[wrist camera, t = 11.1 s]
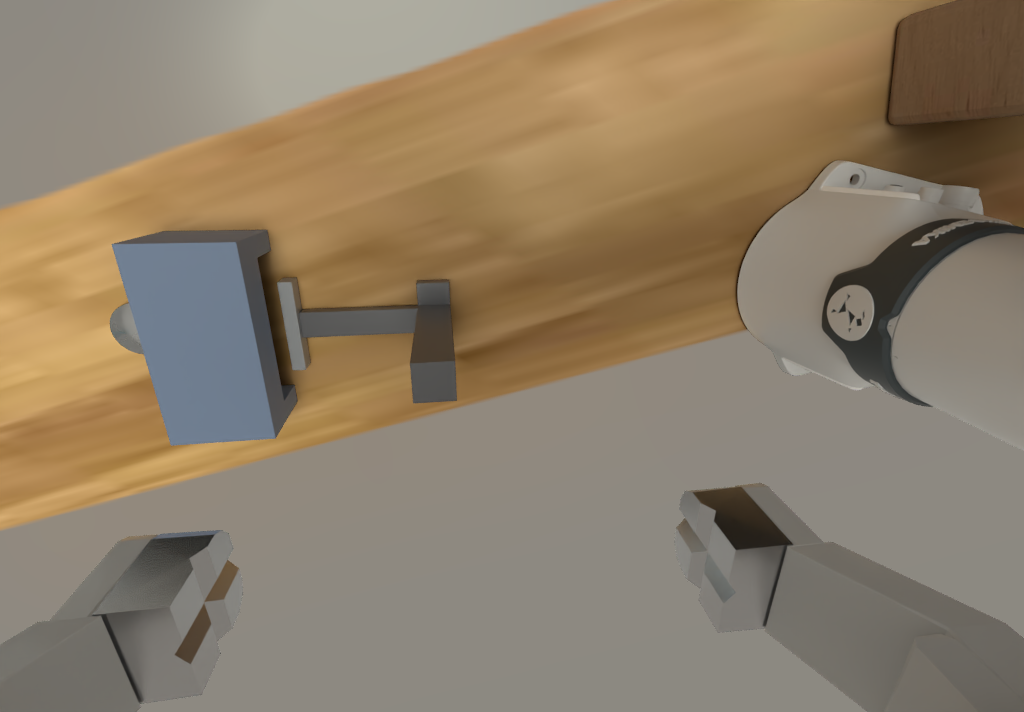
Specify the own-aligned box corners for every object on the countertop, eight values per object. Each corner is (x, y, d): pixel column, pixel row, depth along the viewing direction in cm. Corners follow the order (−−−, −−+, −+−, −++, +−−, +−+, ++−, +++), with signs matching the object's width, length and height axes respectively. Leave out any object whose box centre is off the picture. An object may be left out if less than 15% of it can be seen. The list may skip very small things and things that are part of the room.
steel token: (169, 298, 37) (162, 302, 36) (182, 348, 38) (176, 352, 37) (111, 300, 36) (102, 304, 35) (126, 350, 38) (119, 355, 37)
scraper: (448, 273, 39) (453, 323, 27) (452, 355, 41) (458, 434, 29) (282, 278, 37) (209, 333, 25) (297, 363, 40) (237, 449, 28)
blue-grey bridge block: (267, 229, 36) (236, 242, 30) (297, 401, 41) (275, 438, 35) (163, 231, 35) (111, 244, 29) (207, 406, 40) (170, 445, 34)
